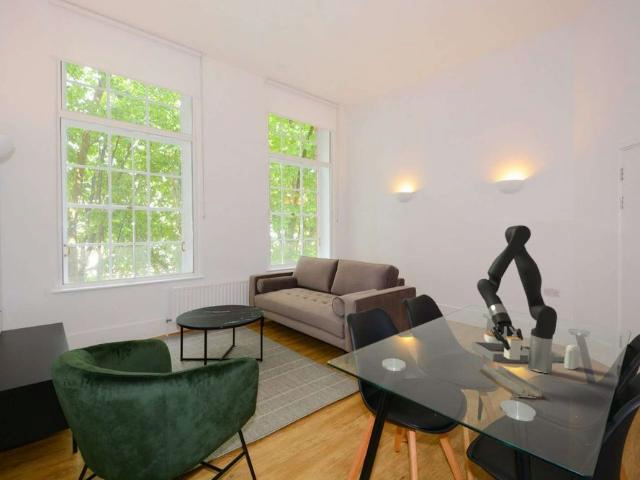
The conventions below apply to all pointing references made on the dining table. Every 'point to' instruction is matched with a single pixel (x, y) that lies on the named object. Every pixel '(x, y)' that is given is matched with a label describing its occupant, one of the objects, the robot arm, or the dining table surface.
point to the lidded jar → (490, 337)
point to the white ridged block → (572, 357)
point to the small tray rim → (556, 356)
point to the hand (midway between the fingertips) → (514, 349)
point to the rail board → (511, 381)
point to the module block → (513, 348)
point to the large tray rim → (485, 350)
